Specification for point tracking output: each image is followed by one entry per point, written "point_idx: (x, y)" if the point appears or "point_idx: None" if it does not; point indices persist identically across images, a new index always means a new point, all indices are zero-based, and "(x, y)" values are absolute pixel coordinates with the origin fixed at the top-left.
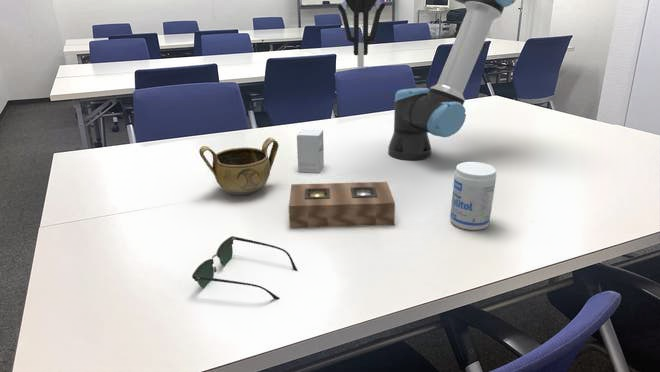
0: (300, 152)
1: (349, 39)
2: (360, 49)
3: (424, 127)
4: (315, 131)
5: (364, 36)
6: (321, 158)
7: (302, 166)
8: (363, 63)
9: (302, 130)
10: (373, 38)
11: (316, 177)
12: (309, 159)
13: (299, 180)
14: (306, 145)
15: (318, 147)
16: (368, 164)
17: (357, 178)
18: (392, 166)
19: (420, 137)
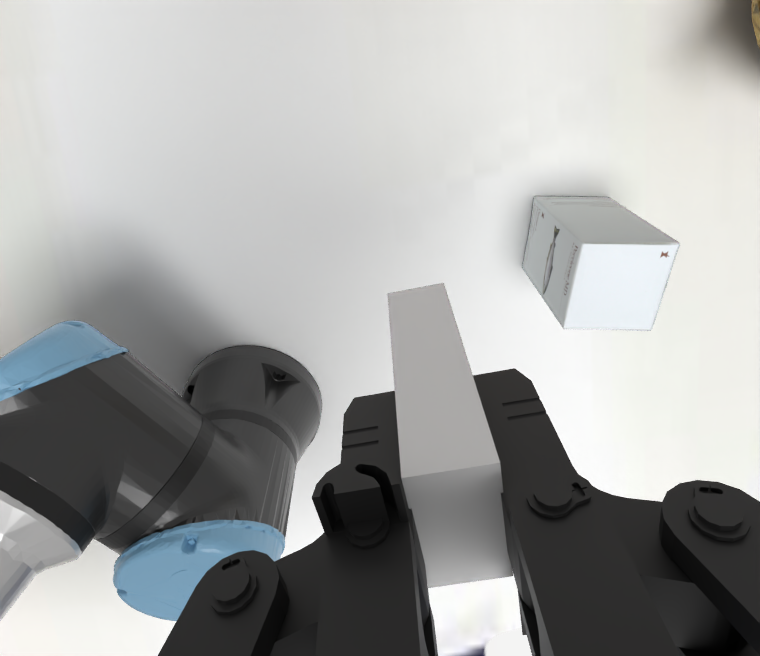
0: (631, 218)
1: (717, 497)
2: (447, 404)
3: (144, 368)
4: (596, 298)
5: (398, 604)
6: (539, 241)
7: (602, 201)
8: (391, 312)
9: (652, 310)
10: (214, 585)
11: (542, 153)
12: (585, 209)
13: (603, 114)
14: (619, 226)
15: (566, 226)
16: (372, 297)
17: (396, 162)
18: (292, 288)
19: (198, 410)
